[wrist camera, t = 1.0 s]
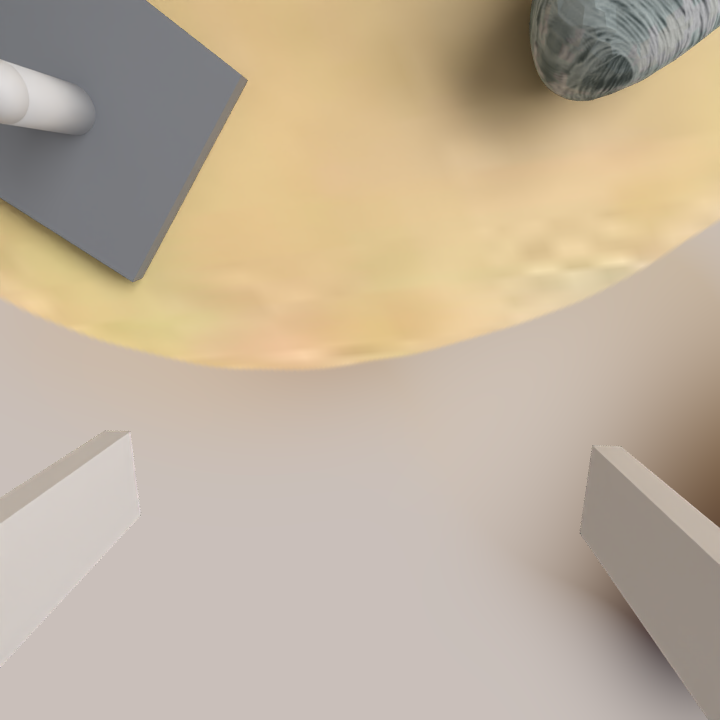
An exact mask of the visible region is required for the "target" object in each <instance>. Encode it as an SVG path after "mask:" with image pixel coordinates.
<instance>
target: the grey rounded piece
mask: <svg viewBox="0 0 720 720" xmlns="http://www.w3.org/2000/svg"><path fill="white" fill-rule="evenodd" d="M719 26H720V0H532V6H531V12H530V23H529V30H530V44H531V51H532V56H533V60H534V64H535V67H536V70H537V72H538V74H539V76H540V78H541V80H542V81H543V83H544V84H545V85H546V86H547V88H549V89H550V90H551V91H553V92H554V93H556V94H557V95H559V96H561V97H564V98H566V99H570V100H575V101H589V100H594V99H597V98H600V97H603V96H606V95H609V94H612V93H615V92H617V91H619V90H622V89H624V88H626V87H628V86H631V85H633V84H635V83H638V82H640V81H642V80H644V79H645V78H647V77H649V76H650V75H652V74H653V73H655V72H656V71H658V70H659V69H661V68H663V67H664V66H666V65H668V64H669V63H671V62H673V61H674V60H676V59H677V58H678V57H680V56H681V55H682V54H684V53H685V52H686V51H688V50H689V49H690V48H692V47H693V46H694V45H696V44H697V43H698V42H700V41H701V40H702V39H703V38H705V37H706V36H707V35H709V34H710V33H711V32H712V31H714V30H715V29H716V28H718V27H719Z"/></svg>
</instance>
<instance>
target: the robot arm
mask: <svg viewBox="0 0 720 720" xmlns="http://www.w3.org/2000/svg"><path fill="white" fill-rule="evenodd" d="M140 516H141V514H140V505H139V497H138V489H137V480H136V473H135V464H134V456H133V448H132V439H131V432H130V431H104V432H102V433H101V434H99V435H98V436H96V437H94V438H93V439H91V440H90V441H88V442H87V443H85V444H83V445H82V446H80V447H79V448H77V449H76V450H74V451H72V452H71V453H69V454H68V455H66V456H65V457H63V458H62V459H60V460H58V461H57V462H55V463H54V464H52V465H51V466H49V467H48V468H46V469H45V470H43V471H41V472H40V473H38V474H37V475H35V476H34V477H32V478H30V479H29V480H27V481H26V482H24V483H23V484H21V485H19V486H18V487H16V488H15V489H13V490H12V491H10V492H9V493H7V494H5V495H4V496H2V497H1V498H0V667H1V666H2V665H3V664H4V663H5V662H6V661H7V660H8V659H9V657H10V656H11V655H12V654H13V653H14V652H15V651H16V650H17V649H18V648H19V647H20V645H21V644H22V643H23V642H24V641H25V640H26V639H27V638H28V637H29V636H30V635H31V634H32V633H33V631H34V630H35V629H36V628H37V627H38V626H39V625H40V624H41V623H42V622H43V621H44V620H45V619H46V617H47V616H48V615H49V614H50V613H51V612H52V611H53V610H54V609H55V607H57V605H58V604H59V603H60V602H61V601H62V600H63V599H64V598H65V597H66V596H67V595H68V594H69V592H70V591H71V590H72V589H73V588H74V587H75V586H76V585H77V584H78V583H79V582H80V581H81V580H82V579H83V577H84V576H85V575H86V574H87V573H88V572H89V571H90V570H91V569H92V568H93V567H94V565H95V564H96V563H97V562H98V561H99V560H100V559H101V558H102V557H103V556H104V555H105V554H106V552H107V551H108V550H109V549H110V548H111V547H112V546H113V545H114V544H115V543H116V542H117V541H118V540H119V538H120V537H121V536H122V535H123V534H124V533H125V532H126V531H127V530H128V529H129V528H130V527H131V525H132V524H133V523H134V522H135V521H136V520H137V519H138V518H139V517H140ZM580 534H581V536H582V537H583V539H584V540H585V542H586V543H587V544H588V546H589V547H590V549H591V550H592V551H593V553H594V554H595V556H596V557H597V559H598V560H599V562H600V563H601V565H602V566H603V568H604V569H605V570H606V572H607V573H608V575H609V576H610V578H611V579H612V581H613V582H614V584H615V585H616V586H617V588H618V589H619V591H620V592H621V594H622V595H623V597H624V598H625V599H626V601H627V602H628V604H629V605H630V607H631V608H632V610H633V611H634V612H635V614H636V615H637V617H638V618H639V620H640V621H641V623H642V624H643V626H644V627H645V628H646V630H647V631H648V633H649V634H650V636H651V637H652V639H653V640H654V641H655V643H656V644H657V646H658V647H659V649H660V650H661V652H662V653H663V655H664V656H665V658H666V659H667V660H668V662H669V663H670V665H671V666H672V668H673V669H674V670H675V672H676V673H677V675H678V676H679V678H680V679H681V681H682V682H683V683H684V685H685V687H686V688H687V689H688V691H689V692H690V694H691V695H692V697H693V698H694V699H695V701H696V702H697V704H698V705H699V707H700V708H701V709H702V711H703V713H704V714H705V716H706V717H707V718H708V720H720V528H719V527H717V526H716V525H715V524H714V523H713V522H712V521H710V520H709V519H708V518H707V517H706V516H704V515H703V514H702V513H701V512H699V511H698V510H697V509H696V508H695V507H693V506H692V505H691V504H690V503H688V502H687V501H686V500H685V499H684V498H683V497H681V496H680V495H679V494H678V493H677V492H675V491H674V490H673V489H672V488H671V487H669V486H668V485H667V484H666V483H664V482H663V481H662V480H661V479H660V478H658V477H657V476H656V475H655V474H654V473H652V472H651V471H650V470H649V469H648V468H646V467H645V466H644V465H643V464H642V463H640V462H639V461H638V460H637V459H636V458H634V457H633V456H632V455H631V454H629V453H628V452H627V451H626V450H625V449H623V448H622V447H621V446H594V445H593V446H592V451H591V458H590V465H589V472H588V479H587V486H586V493H585V500H584V507H583V514H582V521H581V528H580Z"/></svg>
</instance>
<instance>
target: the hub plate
mask: <svg viewBox="0 0 720 720" xmlns="http://www.w3.org/2000/svg"><path fill="white" fill-rule="evenodd" d="M247 81H248V80H247V79H245V78H244V77H243V76H242V75H241V74H239V73H238V72H237V71H235V70H234V69H233V68H232V67H230V66H229V65H228V64H227V63H225V62H224V61H223V60H221V59H220V58H219V57H218V56H216V55H215V54H214V53H212V52H211V51H210V50H209V49H207V48H206V47H205V46H204V45H202V44H201V43H200V42H198V41H197V40H196V39H195V38H193V37H192V36H191V35H189V34H188V33H187V32H186V31H184V30H183V29H182V28H180V27H179V26H178V25H177V24H175V23H174V22H173V21H172V20H170V19H169V18H168V17H166V16H165V15H164V14H163V13H161V12H160V11H159V10H157V9H156V8H155V7H154V6H152V5H151V4H150V3H149V2H147V1H146V0H0V198H1V199H3V200H4V201H6V202H7V203H9V204H11V205H12V206H14V207H15V208H17V209H18V210H20V211H22V212H23V213H25V214H26V215H28V216H29V217H31V218H33V219H34V220H36V221H37V222H39V223H40V224H42V225H44V226H45V227H47V228H48V229H50V230H51V231H53V232H55V233H56V234H58V235H59V236H61V237H63V238H64V239H66V240H67V241H69V242H70V243H72V244H74V245H75V246H77V247H78V248H80V249H81V250H83V251H85V252H86V253H88V254H89V255H91V256H92V257H94V258H96V259H97V260H99V261H100V262H102V263H103V264H105V265H107V266H108V267H110V268H111V269H113V270H114V271H116V272H118V273H119V274H121V275H122V276H124V277H125V278H127V279H129V280H130V281H132V282H134V281H136V280H139V279H141V278H143V276H144V274H145V272H146V270H147V268H148V266H149V265H150V263H151V261H152V259H153V257H154V255H155V253H156V251H157V250H158V248H159V246H160V244H161V242H162V240H163V238H164V236H165V235H166V233H167V231H168V229H169V227H170V225H171V223H172V221H173V220H174V218H175V216H176V214H177V212H178V210H179V208H180V206H181V205H182V203H183V201H184V199H185V197H186V195H187V193H188V191H189V190H190V188H191V186H192V184H193V182H194V180H195V178H196V176H197V175H198V173H199V171H200V169H201V167H202V165H203V163H204V161H205V160H206V158H207V156H208V154H209V152H210V150H211V148H212V147H213V145H214V143H215V141H216V139H217V137H218V135H219V133H220V132H221V130H222V128H223V126H224V124H225V122H226V120H227V118H228V117H229V115H230V113H231V111H232V109H233V107H234V105H235V103H236V102H237V100H238V98H239V96H240V94H241V92H242V90H243V88H244V87H245V85H246V83H247Z"/></svg>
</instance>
